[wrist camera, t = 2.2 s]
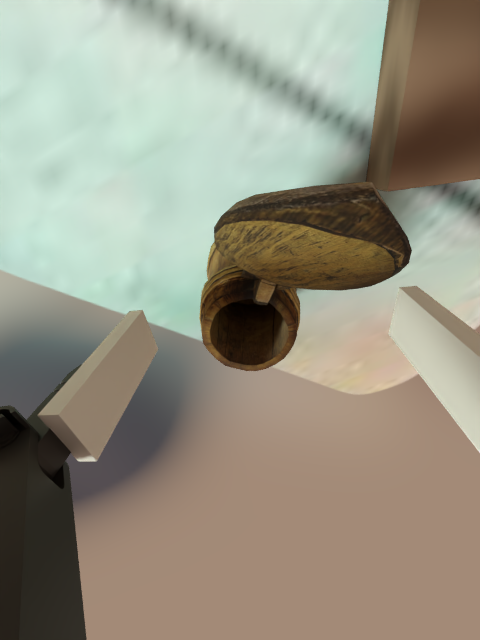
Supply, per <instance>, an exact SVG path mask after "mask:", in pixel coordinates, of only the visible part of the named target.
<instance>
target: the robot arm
mask: <svg viewBox="0 0 480 640" xmlns="http://www.w3.org/2000/svg"><path fill="white" fill-rule="evenodd" d="M389 335H390V337H391V338H392V339H393V341H394V342H395V343H396V345H397V346H398V347H399V348H400V350H401V351H402V352H403V354H404V355H405V356H406V358H407V359H408V360H409V361H410V363H411V364H412V365H413V367H414V368H415V369H416V371H417V372H418V373H419V374H420V376H421V377H422V378H423V380H424V381H425V382H426V384H427V385H428V386H429V387H430V389H431V390H432V391H433V393H434V394H435V395H436V396H437V398H438V399H439V400H440V402H441V403H442V404H443V406H444V407H445V408H446V410H447V411H448V412H449V413H450V415H451V416H452V417H453V419H454V420H455V421H456V423H457V424H458V425H459V427H461V429H462V430H463V432H464V433H465V434H466V436H467V437H468V438H469V440H470V441H471V442H472V443H473V445H474V446H475V447H476V449H477V450H478V451H479V452H480V334H479V333H477V332H476V331H475V330H473V329H472V328H471V327H469V326H468V325H467V324H466V323H464V322H463V321H462V320H460V319H459V318H458V317H456V316H455V315H454V314H452V313H451V312H450V311H449V310H447V309H446V308H445V307H443V306H442V305H441V304H439V303H438V302H437V301H435V300H434V299H433V298H432V297H430V296H429V295H428V294H426V293H425V292H424V291H422V290H421V289H420V288H418V287H417V286H411V287H400V288H399V291H398V295H397V300H396V304H395V308H394V312H393V317H392V321H391V325H390V330H389ZM157 350H158V348H157V345H156V343H155V340H154V337H153V335H152V332H151V330H150V327H149V325H148V322H147V320H146V317H145V315H144V312H143V310H138V311H129V312H128V314H127V315H126V316H125V317H124V318H123V319H122V320H121V322H120V323H119V324H118V325H117V326H116V327H115V328H114V329H113V331H112V332H111V333H110V334H109V335H108V336H107V337H106V338H105V340H104V341H103V342H102V343H101V344H100V345H99V347H97V349H96V350H95V351H94V352H93V353H92V354H91V355H90V356H89V358H88V359H87V360H86V361H85V362H84V363H83V364H82V365H80V366H78V367H77V368H75V369H74V370H73V371H71V372H70V373H69V374H68V375H67V376H66V377H65V378H64V379H63V381H62V382H61V384H59V385H58V386H57V387H56V388H55V389H54V392H52V393H51V394H50V395H49V396H48V397H47V398H46V399H45V400H44V401H43V402H42V403H41V405H40V406H39V407H38V408H37V409H36V410H35V411H34V412H33V413H32V415H31V416H30V417H29V418H28V419H27V420H26V419H25V418H24V417H23V416H22V415H21V414H20V413H19V412H18V411H17V410H16V409H15V408H14V407H12V406H2V407H0V640H86V631H85V621H84V611H83V601H82V591H81V581H80V571H79V561H78V551H77V541H76V532H75V521H74V512H73V501H72V492H71V481H70V472H69V466H68V464H67V462H66V461H65V460H66V459H67V457H68V456H69V454H70V453H72V455H73V456H74V457H75V458H76V459H77V460H78V461H97V460H98V458H99V456H100V455H101V453H102V451H103V449H104V447H105V445H106V443H107V442H108V440H109V438H110V436H111V434H112V433H113V431H114V429H115V427H116V425H117V423H118V422H119V420H120V418H121V416H122V414H123V412H124V411H125V409H126V407H127V405H128V403H129V402H130V399H131V398H132V396H133V394H134V392H135V391H136V389H137V387H138V385H139V383H140V381H141V380H142V378H143V376H144V374H145V372H146V371H147V369H148V367H149V365H150V363H151V361H152V360H153V358H154V356H155V354H156V352H157Z"/></svg>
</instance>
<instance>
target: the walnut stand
mask: <svg viewBox="0 0 480 640" xmlns="http://www.w3.org/2000/svg"><path fill="white" fill-rule="evenodd" d="M475 179H480V0H389V5H388V13H387V21H386V29H385V37H384V44H383V52H382V60H381V68H380V76H379V84H378V92H377V99H376V107H375V115H374V123H373V131H372V139H371V147H370V154H369V162H368V170H367V178H366V182H372V183H373V185H374V186H375V188H376V189H379V190H383V191H394V190H402V189H409V188H416V187H424V186H431V185H439V184H446V183H453V182H461V181H468V180H475Z"/></svg>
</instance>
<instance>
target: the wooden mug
mask: <svg viewBox="0 0 480 640" xmlns="http://www.w3.org/2000/svg"><path fill="white" fill-rule="evenodd" d="M214 238H215V242H214V243H213V245H212V246H211V249H210V254H209V258H208V265H207V277H208V281H207V282H206V283H205V285H204V288H203V290H202V296H201V306H200V324H201V331H202V338H203V343H204V345H205V346H206V348H207V349H208V351H209V352H210V353H211V354H212V355H213V356H214V357H215V358H216V359H217V360H218V361H220V362H221V363H223V364H224V365H225V366H229V367H233V368H236V369H241V370H245V371H258V370H263V369H266V368H269V367H271V366H273V365H275V364H276V363H278V362H279V361H281V360H282V359H284V358H285V357H286V355H287V354H288V353H289V351H290V350H291V348H292V346H293V345H294V342H295V339H296V337H297V330H298V327H299V323H300V301H299V298H298V296H297V294H296V288H303V289H313V290H348V289H358V288H363V287H369V286H372V285H375V284H377V283H380V282H382V281H384V280H386V279H388V278H390V277H392V276H394V275H395V274H397V273H399V272H400V271H401V270H402V269H403V268H404V267H405V266H406V265H407V264H408V263H409V260H410V255H411V251H412V250H411V247H410V244H409V240H408V237H407V236H406V234H405V233H404V231H403V230H402V228H401V226H400V225H399V223H398V222H397V220H396V219H395V217H394V216H393V214H392V213H391V211H390V210H389V208H388V207H387V205H386V204H385V202H384V201H383V199H382V198H381V196H380V195H379V193H378V191H377V190H376V188H375V186H374V185H373V183H372V182H361V183H348V184H334V185H321V186H311V187H304V188H297V189H291V190H284V191H277V192H270V193H264V194H257V195H254V196H251V197H249V198H246V199H244V200H242V201H239V202H237V203H236V204H235V205H233V206H232V207H231V208H230V209H229V210H228V211H227V212H226V213H224V214H223V215H222V216H221V218H220V219H219V221H218V222H217V224H216V225H215V227H214Z"/></svg>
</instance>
